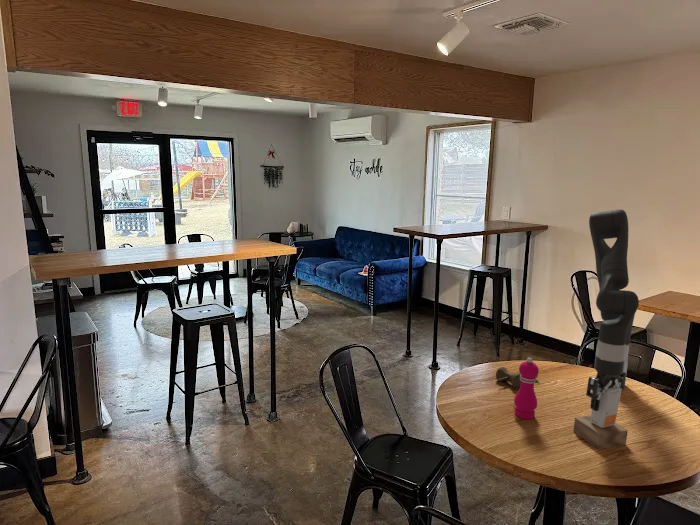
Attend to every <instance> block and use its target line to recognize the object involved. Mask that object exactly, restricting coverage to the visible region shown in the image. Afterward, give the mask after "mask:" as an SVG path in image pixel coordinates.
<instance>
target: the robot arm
mask: <svg viewBox="0 0 700 525" xmlns="http://www.w3.org/2000/svg"><path fill="white" fill-rule="evenodd" d="M588 225H589V232H590V235H591V236H590V237H591V242H592V245H593V246H592V247H593V250H594V256H595V257H594V258H595V269H596V270H595V271H596V276H597V277H596V278H597V282H598V288H599V292H598V294H597V295H596V301H595V304H596V305H595V306H596V308H597V309H598V310H599V312H600V318H601V319H602V322H600V326H599V332H598V340H597V343H596V349H595V350H596V351H595V358H594V364H593V365H594V366H593V368H594V369H595V371H596V373H597V374H596V376H595V377H594V376H593V377H592V376H589V377H588V380H587V381H588V382H587V386H586V394H585V395H586V396H587V397H589V398H590V409H591V411H592V410H594V411H598V410H599V404H600V397H601V396H602V394H605V392H606V390H607V389H608V388H612V387H614V386H615V387H616V388H622V391H621V392H624V391H625V389H626V388H625V386H626V381H627V380H626V379H627V370H628V367H629V366H628V364H629V362H628V358H629V349H630V343H631V336H632V330H633V325H634V320H635V314H636V312H637V311H638V308H639V303H640V300H639V296H638V295H637V293H636V292H634V291H631V290H625V288H627V287H628V286H629V282H630V281H629V280H630V279H629V269H628V249H629V219H628V215H627V212H626V211H625V210H624V209H613V210H611V209H609V210H604V211H603V210H602V211H596V212H593V213H591V214H590V216H589V219H588ZM609 239H615V242H614V244H613V245H612V246H611V247H610V245H608V243H607V242H606V240H609ZM623 289H624V290H623ZM598 386H599V387H600V388H602V389H599V388H598ZM597 391H598V392H599V393H598V395H597Z"/></svg>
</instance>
